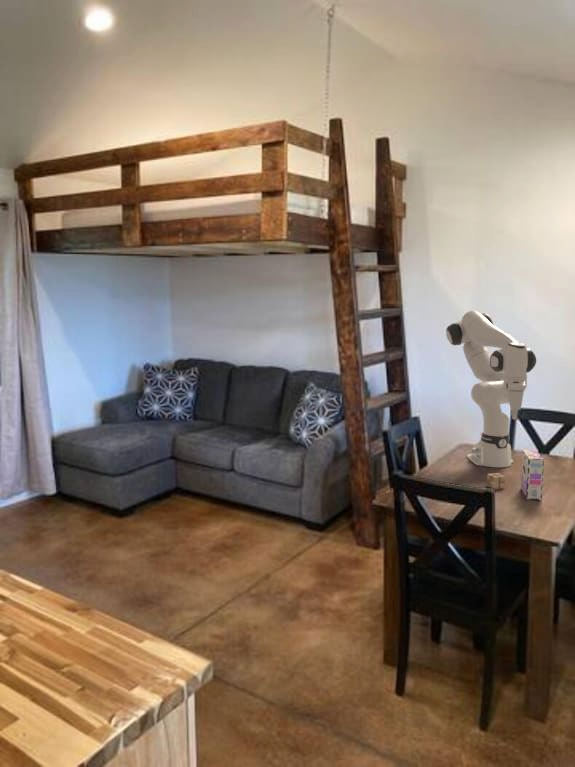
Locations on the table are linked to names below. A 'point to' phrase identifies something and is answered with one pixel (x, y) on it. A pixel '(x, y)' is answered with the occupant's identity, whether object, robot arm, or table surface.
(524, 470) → the candy box
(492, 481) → the maple cube
